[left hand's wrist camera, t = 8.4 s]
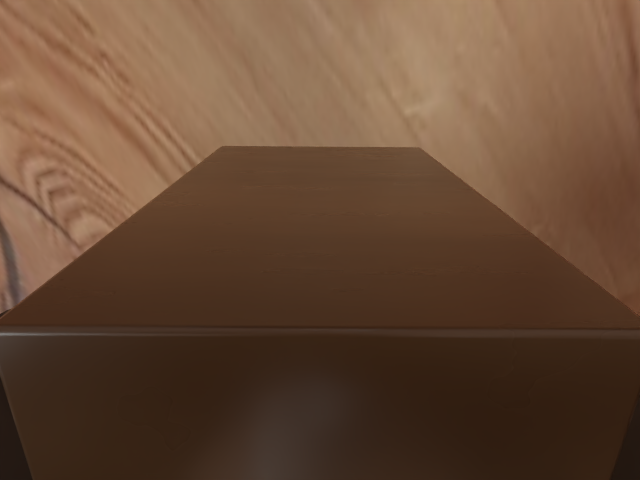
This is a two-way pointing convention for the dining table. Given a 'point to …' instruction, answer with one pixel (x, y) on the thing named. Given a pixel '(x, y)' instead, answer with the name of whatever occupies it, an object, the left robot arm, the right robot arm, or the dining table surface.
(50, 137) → the dining table surface
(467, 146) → the dining table surface
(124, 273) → the box
